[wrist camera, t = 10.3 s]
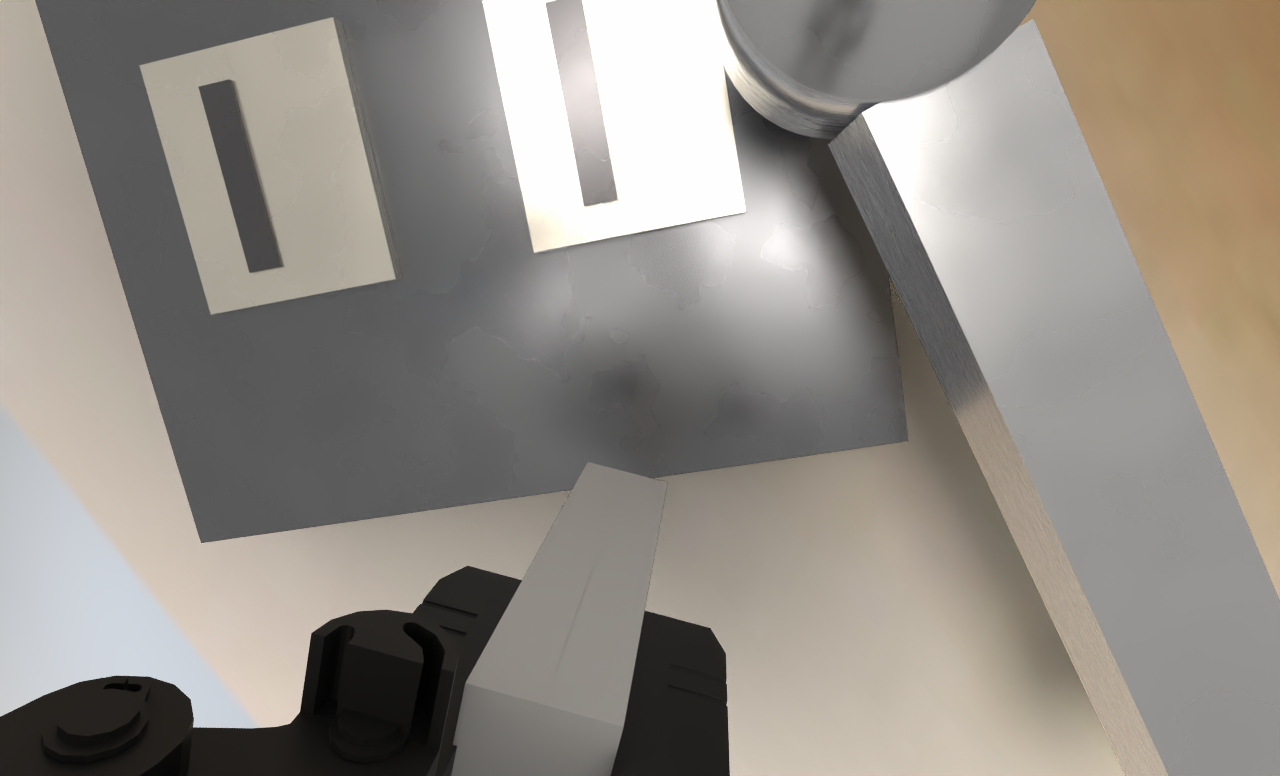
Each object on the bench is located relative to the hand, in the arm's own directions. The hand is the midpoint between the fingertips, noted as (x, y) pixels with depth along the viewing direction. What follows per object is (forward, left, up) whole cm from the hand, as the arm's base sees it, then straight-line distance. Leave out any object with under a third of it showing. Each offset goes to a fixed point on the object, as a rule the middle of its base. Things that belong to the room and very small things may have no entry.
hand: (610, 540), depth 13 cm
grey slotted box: (-9, -3, -8) cm, 12 cm away
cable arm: (-1, +8, -2) cm, 8 cm away
